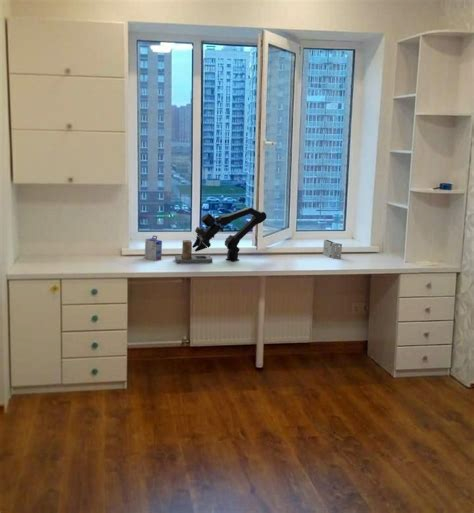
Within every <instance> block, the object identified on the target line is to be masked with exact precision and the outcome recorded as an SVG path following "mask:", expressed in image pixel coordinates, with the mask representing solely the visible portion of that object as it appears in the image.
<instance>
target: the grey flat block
mask: <svg viewBox="0 0 474 513" xmlns="http://www.w3.org/2000/svg"><path fill="white" fill-rule="evenodd" d="M174 260H175V262H176V263H177V264H213V257H212V256H211V255H209V254H206V255H204V254H203V255H201V254H200V255H199V254H197V255H196V254H195V255H191V259H182V255H175V258H174Z"/></svg>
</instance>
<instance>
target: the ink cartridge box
mask: <svg viewBox="0 0 474 513" xmlns="http://www.w3.org/2000/svg"><path fill="white" fill-rule="evenodd" d="M144 243H145V244H144V258H145V259H147V260H151V261H155V262H156V261H161V260H162V254H163V253H162V247H163V241H162V240H160V239H158V235H152V237H151V238H145V242H144Z"/></svg>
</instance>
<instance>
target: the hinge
mask: <svg viewBox="0 0 474 513" xmlns="http://www.w3.org/2000/svg"><path fill="white" fill-rule="evenodd" d="M322 248H323V250H322V255H323V256H326V257H328V258H330V259H342V250H343V243H341V242H340V243H339V242H335V241H332V240H330V239H324V240H323V247H322Z"/></svg>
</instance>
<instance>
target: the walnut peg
mask: <svg viewBox="0 0 474 513" xmlns="http://www.w3.org/2000/svg"><path fill="white" fill-rule="evenodd" d="M192 246H193V241H192V240H191V239H189V240H187V239H185V240H184V239H183V240H182V246H181V247H182V249H181V250H182V254H181V256H182V259H191V256H192V255H193V254H192V248H193V247H192Z"/></svg>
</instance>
